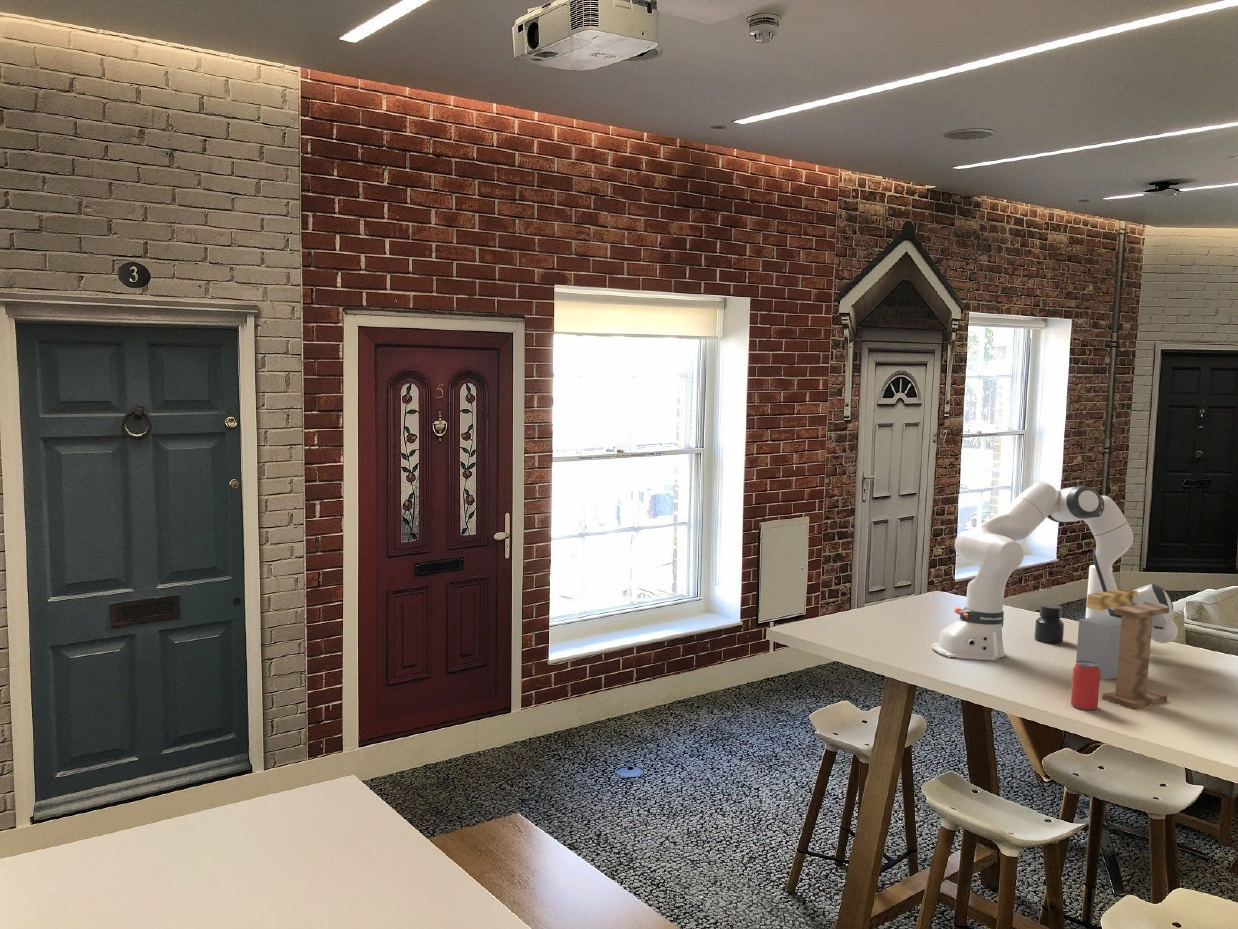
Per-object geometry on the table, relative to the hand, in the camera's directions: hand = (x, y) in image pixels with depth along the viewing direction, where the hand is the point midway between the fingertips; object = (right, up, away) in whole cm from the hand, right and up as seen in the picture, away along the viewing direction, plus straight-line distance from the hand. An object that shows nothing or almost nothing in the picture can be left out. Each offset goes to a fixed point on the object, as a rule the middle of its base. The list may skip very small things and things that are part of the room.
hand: (1123, 596), depth 299 cm
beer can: (-29, -25, -35) cm, 52 cm away
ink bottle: (-8, -20, +35) cm, 41 cm away
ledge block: (-7, -23, -2) cm, 24 cm away
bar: (-5, -3, -3) cm, 6 cm away
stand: (-11, -25, -28) cm, 39 cm away
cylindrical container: (+11, -20, +40) cm, 46 cm away
